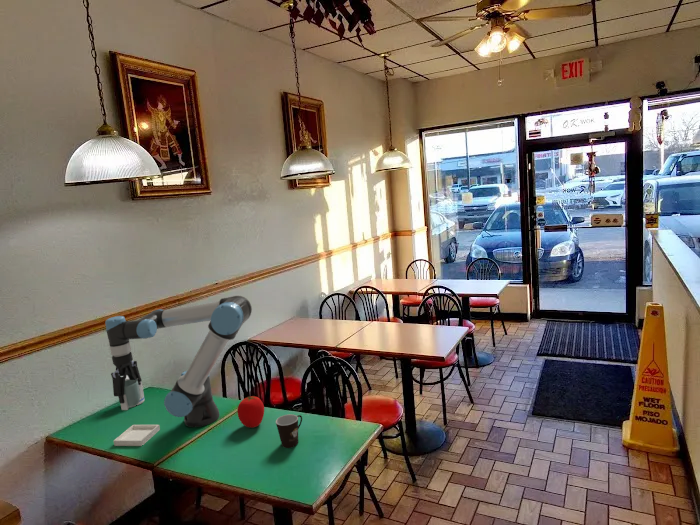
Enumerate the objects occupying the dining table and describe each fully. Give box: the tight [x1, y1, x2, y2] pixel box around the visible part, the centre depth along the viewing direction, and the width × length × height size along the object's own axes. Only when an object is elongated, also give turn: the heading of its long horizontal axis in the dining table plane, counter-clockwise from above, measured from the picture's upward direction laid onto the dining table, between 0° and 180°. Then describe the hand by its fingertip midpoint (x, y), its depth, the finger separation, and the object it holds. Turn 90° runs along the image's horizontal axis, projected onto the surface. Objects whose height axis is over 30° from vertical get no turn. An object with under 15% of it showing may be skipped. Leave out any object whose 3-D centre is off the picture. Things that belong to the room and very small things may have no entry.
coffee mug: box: [275, 413, 303, 449], centre depth 187 cm, size 12×9×10 cm
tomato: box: [236, 395, 265, 429], centre depth 203 cm, size 11×11×13 cm
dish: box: [113, 424, 161, 447], centre depth 205 cm, size 13×13×2 cm
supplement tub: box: [120, 376, 145, 406], centre depth 240 cm, size 10×10×15 cm
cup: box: [124, 380, 140, 409], centre depth 202 cm, size 8×8×10 cm
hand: (131, 404), depth 203 cm, fingers closed on cup, 8 cm apart
